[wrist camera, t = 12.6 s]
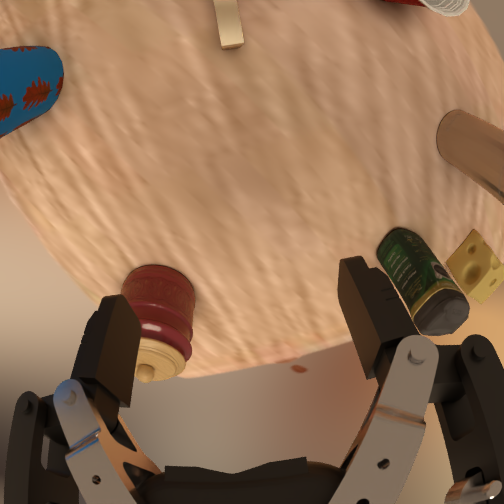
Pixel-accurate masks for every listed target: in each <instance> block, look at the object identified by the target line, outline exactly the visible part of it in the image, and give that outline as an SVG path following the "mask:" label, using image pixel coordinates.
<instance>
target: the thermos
mask: <svg viewBox="0 0 504 504" xmlns="http://www.w3.org/2000/svg"><path fill="white" fill-rule="evenodd" d="M63 76H64V72H63V66H62V61H61V59H60V58H59V56H58V54H57V53H56V52H55V51H54V50H52V49H51V48H49V47H43V46H20V47H11V48H4V49H0V138H2V137H3V136H5V135H7V134H9V133H10V132H12V131H14V130H16V129H18V128H20V127H21V126H23V125H25V124H27V123H29V122H30V121H32V120H34V119H35V118H37V117H39V116H40V115H42V114H43V113H45V112H46V111H48V110H49V109H50V108H51V107H52V105H53V104H54V103H55V101H56V100H57V99H58V96H59V93H60V91H61V88H62V84H63Z"/></svg>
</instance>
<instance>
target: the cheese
mask: <svg viewBox="0 0 504 504" xmlns="http://www.w3.org/2000/svg"><path fill="white" fill-rule="evenodd" d="M446 263H447V265H448V266H449V268H450V270H451V272H452V274H453V276H454V278H455V280H456V281H457V283H458V284H459V286H460V287H461V288H462V290H463V291H464V292H465V293H466V294H467V295H468V296H470V297H472V298H474V299H475V300H476V301H478V302H479V303H480V304H482V303H483V302H484V301H485V300H486V299H487V298H488V297H489V296H490V295H491V294H492V293H493V292H494V290H495V289H496V288H497V287H498V286H499V285H500V284H501V282H503V280H504V265H503V264H502V263H501V262H500V261H499V259H498V258H497V257H496V255H495V254H494V252H493V251H492V249H491V248H490V247H489V246H488V245H487V244H486V243H485V241H484V240H483V238H482V237H481V235H480V234H479V233H478V232H477V231H476V230H474V229H473V230H472V232H471V233H470V234H469V236H468V237H467V238H466V240H465V241H464V242H463V243H462V244H461V246H460V247H459V248H458V249H457V250H456V251H455V252H454V253H453V255H452V256H451V257H450V258H449V259H448V260H447V261H446Z"/></svg>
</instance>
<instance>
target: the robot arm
mask: <svg viewBox="0 0 504 504" xmlns="http://www.w3.org/2000/svg"><path fill="white" fill-rule="evenodd" d="M437 145H438V150H439V152H440V154H441V156H442V157H443V158H444V159H445V160H446V161H448V162H449V163H450V164H452V165H453V166H455V167H456V168H458V169H459V170H460V171H462V172H463V173H464V174H466V175H467V176H468V177H470V178H471V179H473V180H474V181H475V182H476V183H478V184H479V185H480V186H482V187H483V188H484V189H485V190H487V191H488V192H489V193H490V194H492V195H493V196H494V197H495V198H496V199H498V200H499V201H500V202H501V203H502V204H503V205H504V130H502V129H500V128H498V127H496V126H494V125H492V124H490V123H488V122H486V121H484V120H482V119H480V118H478V117H475V116H473V115H471V114H469V113H466V112H464V111H461V110H454V111H451V112H450V113H448V114H447V115H446V116H445V117H444V118H443V120H442V121H441V124H440V126H439V129H438V133H437ZM338 299H339V303H340V306H341V309H342V312H343V314H344V317H345V320H346V322H347V325H348V328H349V330H350V333H351V336H352V339H353V342H354V344H355V347H356V350H357V353H358V356H359V359H360V361H361V364H362V367H363V370H364V373H365V376H366V379H367V380H368V379H371V378H375V377H376V379H377V382H378V385H379V386H378V388H377V391H376V393H375V396H374V398H373V401H372V403H371V405H370V408H369V410H368V412H367V414H366V417H365V419H364V421H363V423H362V426H361V428H360V430H359V432H358V434H357V436H356V438H355V440H354V441H353V443H352V445H351V447H350V448H349V450H348V453H347V454H346V456H345V458H344V460H343V462H342V464H341V465H340V467H339V468H338V467H335V466H332V465H329V464H325V463H321V462H312V461H307V459H306V457H301V458H296V459H289V460H283V461H276V462H269V463H266V464H263V465H261V466H258V467H255V468H252V469H249V470H245V471H243V472H239V473H235V474H229V473H224V472H219V471H214V470H209V469H204V468H200V467H181V466H179V467H178V466H165V472H161V470H160V469H159V468H158V467H157V466H156V465H155V463H154V462H153V461H152V460H150V459H149V458H148V457H147V456H146V455H145V454H144V453H143V451H142V450H141V448H140V447H139V445H138V444H137V442H136V441H135V439H134V438H133V436H132V434H131V433H130V431H129V429H128V428H127V426H126V424H125V423H124V421H123V419H122V417H121V416H120V415H119V414H118V412H119V407H127V408H129V407H130V402H131V395H132V387H133V381H134V374H135V368H136V362H137V356H138V350H139V345H140V339H141V333H142V330H141V324H140V321H139V319H138V317H137V316H136V314H135V312H134V311H133V309H132V308H131V306H130V304H129V303H128V301H127V300H126V298H125V296H124V295H122V294H118V295H111V296H105V297H103V298H102V300H101V303H100V306H99V309H98V311H95V312H94V313H93V315H92V316H91V318H90V319H89V320H88V322H87V325H86V328H85V331H84V335H83V337H82V340H81V344H80V347H79V350H78V353H77V357H76V360H75V364H74V367H73V371H72V374H71V378H70V379H68V380H65V381H63V382H62V383H61V384H60V385H59V386H58V387H57V388H56V390H55V393H54V394H52V395H49V396H46V397H42V398H39V397H38V396H37V395H36V394H35V393H33V392H31V391H27V392H25V393H23V394H22V395H21V396H20V397H19V399H18V400H17V403H16V406H15V411H14V416H13V421H12V427H11V432H10V438H9V446H8V452H7V461H6V471H5V487H4V504H79V490H80V492H81V494H82V496H83V497H84V499H85V501H86V503H87V504H395V503H396V501H397V499H398V497H399V495H400V492H401V491H402V488H403V486H404V484H405V482H406V480H407V477H408V475H409V473H410V470H411V468H412V466H413V463H414V461H415V458H416V456H417V453H418V450H419V448H420V445H421V442H422V439H423V436H424V433H425V428H426V423H425V422H424V415H425V411H426V408H427V404H428V403H434V405H435V409H436V412H437V415H438V418H439V422H440V425H441V429H442V433H443V436H444V440H445V444H446V448H447V452H448V456H449V461H450V465H451V469H452V475H453V480H454V485H453V486H452V487H451V488H450V489H449V491H448V493H447V494H446V497H445V502H444V504H504V369H503V366H502V364H501V362H500V359H499V357H498V355H497V353H496V351H495V349H494V347H493V345H492V343H491V342H490V341H489V340H488V339H487V338H485V337H484V336H481V335H477V334H475V335H470V336H468V337H467V338H466V339H465V340H464V341H463V342H462V344H461V345H436V344H434V343H433V342H432V341H431V340H430V339H428V338H426V337H424V336H421V335H420V334H419V332H418V331H417V329H416V327H415V325H414V323H413V321H412V319H411V317H410V315H409V314H408V312H407V310H406V308H405V306H404V304H403V302H402V301H401V299H400V298H399V295H398V293H397V292H396V290H395V289H394V286H393V285H392V283H391V281H390V279H389V278H388V276H387V275H386V274H385V273H383V272H382V271H381V270H380V269H378V268H377V267H375V268H370V269H369V267H368V266H367V264H366V262H365V260H364V259H363V257H362V256H355V257H350V258H344V259H341V260H340V263H339V277H338ZM43 436H45V437H47V438H48V439H50V444H49V453H48V465H47V469H46V470H45V469H44V468H43V466H42V464H41V452H42V444H43Z"/></svg>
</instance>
